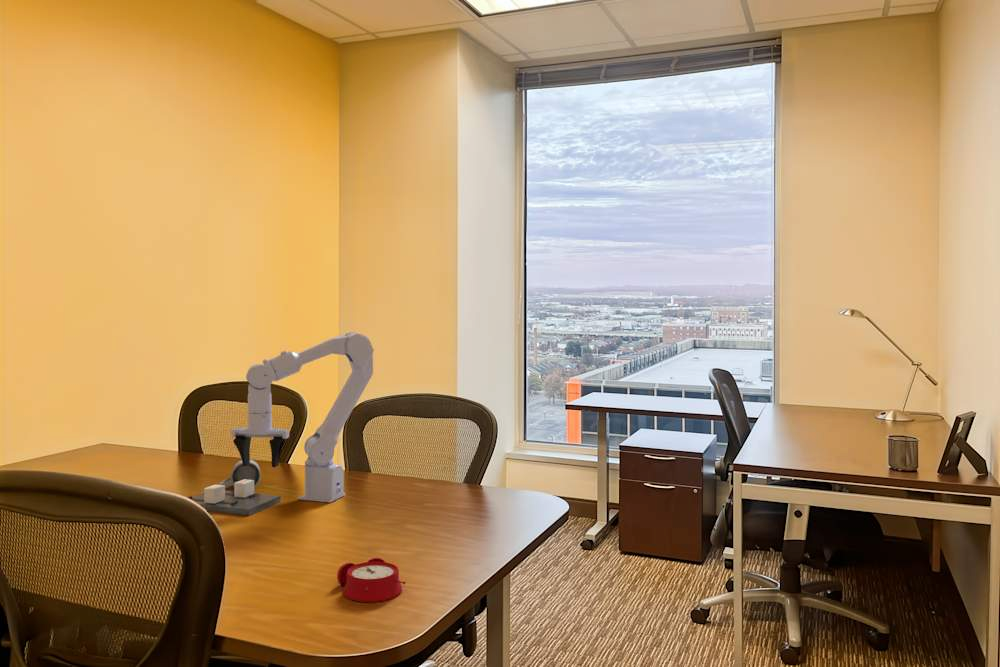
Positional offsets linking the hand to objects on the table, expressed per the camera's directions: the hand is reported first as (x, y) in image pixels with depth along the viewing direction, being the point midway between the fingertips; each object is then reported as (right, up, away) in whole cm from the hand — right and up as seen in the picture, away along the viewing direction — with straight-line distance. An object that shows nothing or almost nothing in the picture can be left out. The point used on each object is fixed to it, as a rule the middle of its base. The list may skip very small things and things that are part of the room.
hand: (260, 465), depth 198 cm
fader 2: (-4, -8, +1) cm, 9 cm away
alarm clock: (+37, -13, -55) cm, 67 cm away
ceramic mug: (-10, -9, +16) cm, 20 cm away
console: (-7, -10, -2) cm, 12 cm away
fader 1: (-10, -8, -4) cm, 13 cm away
